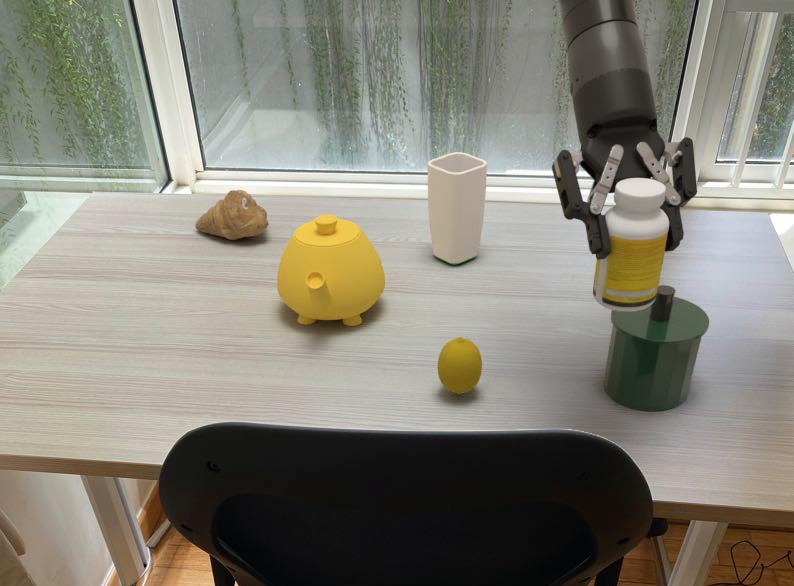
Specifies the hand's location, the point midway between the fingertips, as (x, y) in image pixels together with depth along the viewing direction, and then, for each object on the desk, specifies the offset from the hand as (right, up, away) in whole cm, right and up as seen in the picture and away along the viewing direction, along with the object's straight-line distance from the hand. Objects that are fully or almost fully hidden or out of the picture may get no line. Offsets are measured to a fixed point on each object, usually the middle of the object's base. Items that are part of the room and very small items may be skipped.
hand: (638, 252), depth 86 cm
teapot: (-33, +4, +42) cm, 54 cm away
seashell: (-50, +23, +63) cm, 84 cm away
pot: (+8, -9, +26) cm, 28 cm away
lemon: (-15, -10, +26) cm, 32 cm away
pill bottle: (0, -3, +5) cm, 6 cm away
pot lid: (+8, -2, +19) cm, 21 cm away
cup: (-14, +17, +55) cm, 59 cm away
